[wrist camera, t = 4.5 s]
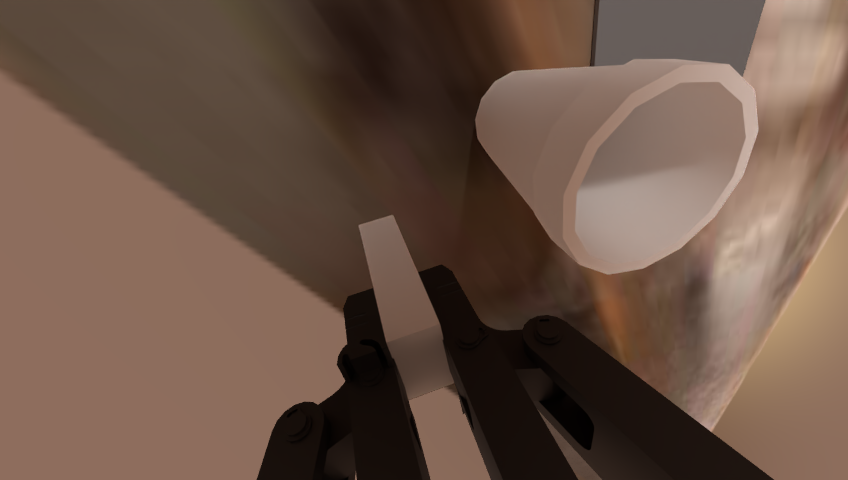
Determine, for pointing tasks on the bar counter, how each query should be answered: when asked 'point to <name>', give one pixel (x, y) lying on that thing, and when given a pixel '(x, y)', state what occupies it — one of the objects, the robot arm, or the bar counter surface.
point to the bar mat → (675, 31)
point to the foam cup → (621, 152)
